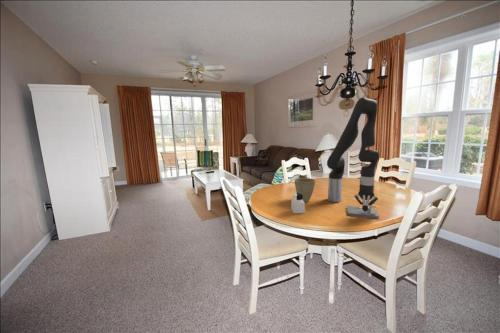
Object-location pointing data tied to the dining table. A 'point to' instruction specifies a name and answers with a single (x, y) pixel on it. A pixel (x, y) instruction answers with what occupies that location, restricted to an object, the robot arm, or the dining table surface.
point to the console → (361, 212)
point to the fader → (372, 209)
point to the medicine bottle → (298, 203)
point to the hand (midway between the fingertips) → (364, 211)
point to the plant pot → (305, 187)
